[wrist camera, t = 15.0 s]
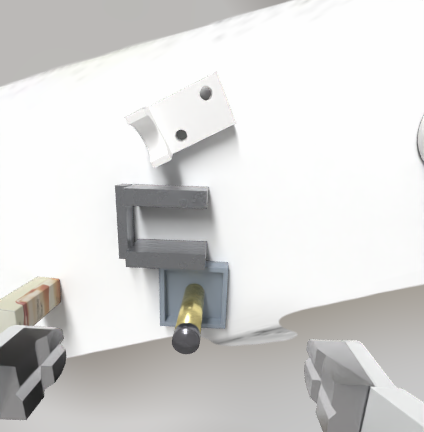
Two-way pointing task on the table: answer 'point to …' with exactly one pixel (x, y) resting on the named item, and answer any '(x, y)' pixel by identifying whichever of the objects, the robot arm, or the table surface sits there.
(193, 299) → the pin
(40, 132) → the table surface
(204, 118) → the bracket
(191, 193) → the clevis block
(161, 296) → the tray
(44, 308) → the skincare box
